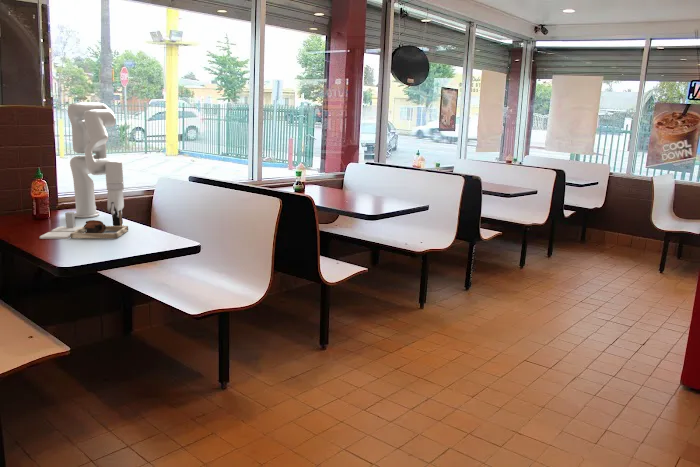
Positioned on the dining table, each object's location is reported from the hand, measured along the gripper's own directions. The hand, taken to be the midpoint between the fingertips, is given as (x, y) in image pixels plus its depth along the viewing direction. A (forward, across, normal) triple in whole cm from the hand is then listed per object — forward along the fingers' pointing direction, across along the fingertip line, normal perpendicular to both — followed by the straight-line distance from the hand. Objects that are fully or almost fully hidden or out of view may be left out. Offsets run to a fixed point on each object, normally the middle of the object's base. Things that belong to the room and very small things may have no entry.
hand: (117, 224), depth 285 cm
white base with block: (+2, +10, -22) cm, 24 cm away
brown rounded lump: (+3, +15, -5) cm, 16 cm away
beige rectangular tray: (+2, +9, -4) cm, 10 cm away
